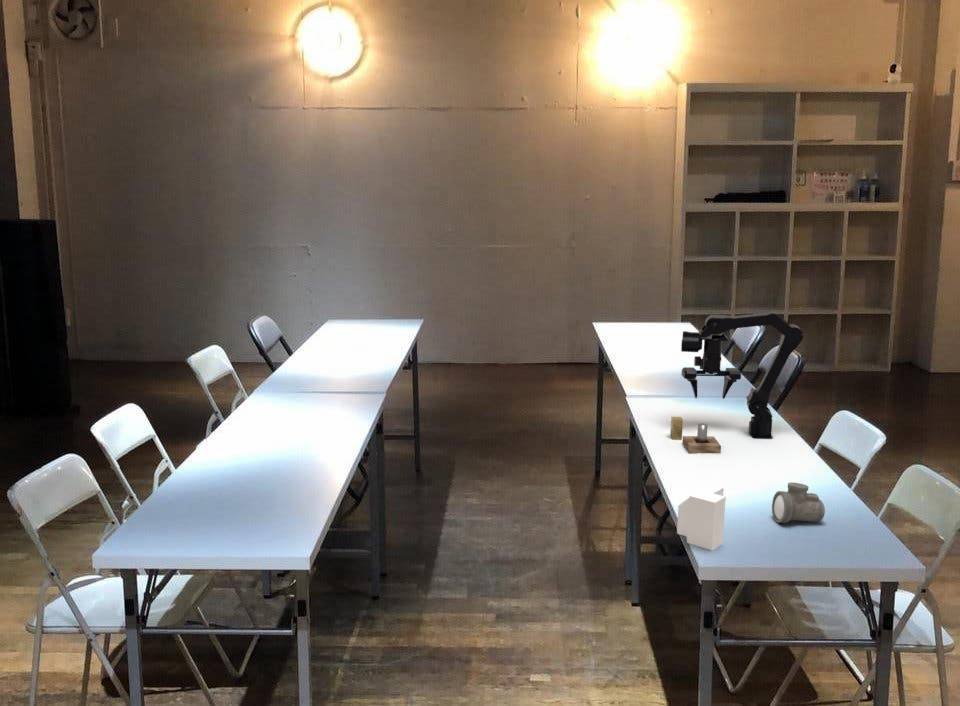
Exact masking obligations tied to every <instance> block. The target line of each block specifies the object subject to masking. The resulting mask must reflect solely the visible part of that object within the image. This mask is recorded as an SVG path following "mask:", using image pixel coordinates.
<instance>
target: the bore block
mask: <svg viewBox="0 0 960 706" xmlns="http://www.w3.org/2000/svg"><path fill="white" fill-rule="evenodd" d="M682 445H683V447H684V448H685V450H686V452H687V453H688V454H697V453H722V445H721V444H720V443H719V441H718V440H717V438H716V437H715V436H708V435H707V443H697V435H696V436H695V435H693V436H690V435H689V436H688V435H682Z"/></svg>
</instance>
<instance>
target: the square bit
mask: <svg viewBox="0 0 960 706" xmlns="http://www.w3.org/2000/svg"><path fill="white" fill-rule="evenodd" d="M670 417H671V418H670V419H671V420H670V432H669V433H670V436H669V437H670V439H671V440H673V441H675V440H676V441H683V423H684V419H683V417H682V416H670Z"/></svg>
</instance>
